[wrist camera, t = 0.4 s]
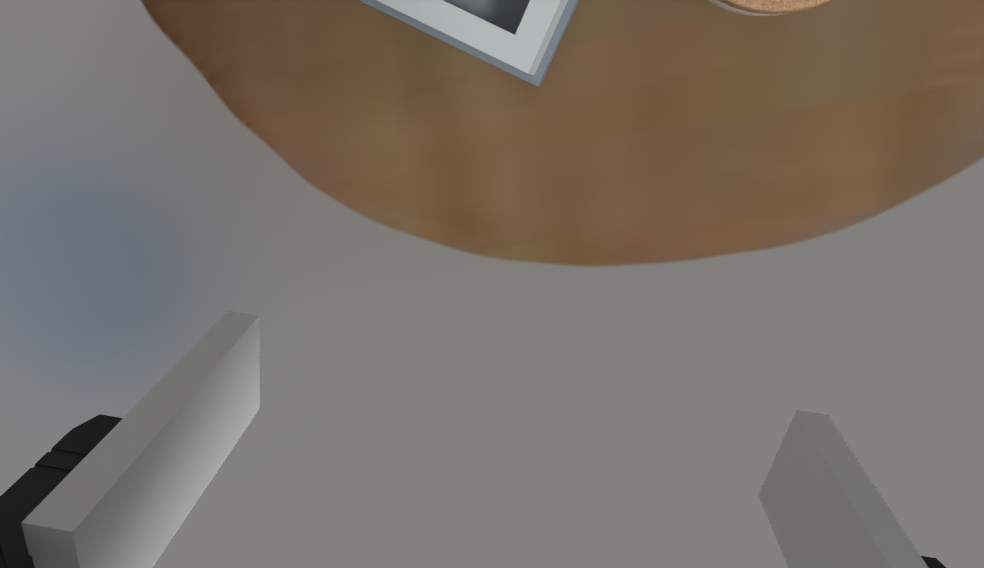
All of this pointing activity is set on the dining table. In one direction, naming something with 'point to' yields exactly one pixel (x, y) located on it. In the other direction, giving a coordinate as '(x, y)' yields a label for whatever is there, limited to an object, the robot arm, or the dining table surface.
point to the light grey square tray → (492, 29)
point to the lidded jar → (766, 6)
